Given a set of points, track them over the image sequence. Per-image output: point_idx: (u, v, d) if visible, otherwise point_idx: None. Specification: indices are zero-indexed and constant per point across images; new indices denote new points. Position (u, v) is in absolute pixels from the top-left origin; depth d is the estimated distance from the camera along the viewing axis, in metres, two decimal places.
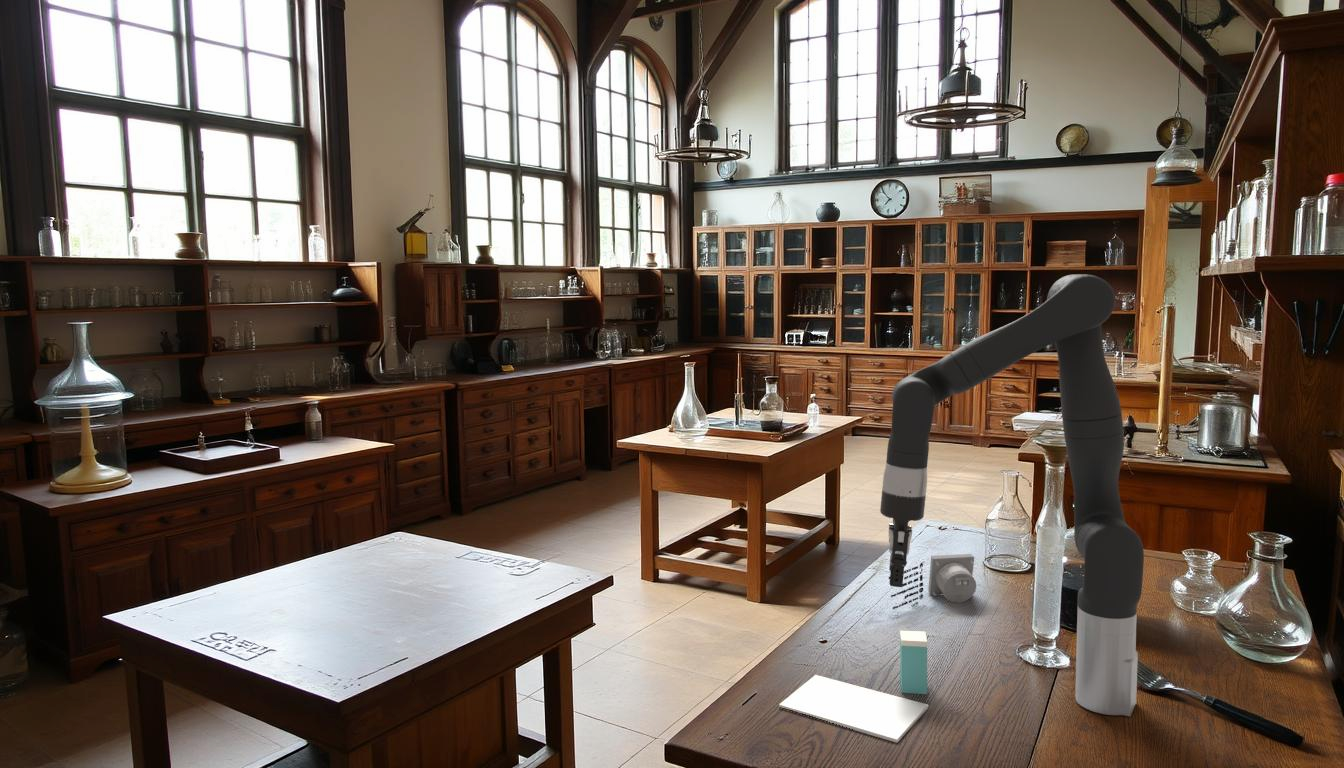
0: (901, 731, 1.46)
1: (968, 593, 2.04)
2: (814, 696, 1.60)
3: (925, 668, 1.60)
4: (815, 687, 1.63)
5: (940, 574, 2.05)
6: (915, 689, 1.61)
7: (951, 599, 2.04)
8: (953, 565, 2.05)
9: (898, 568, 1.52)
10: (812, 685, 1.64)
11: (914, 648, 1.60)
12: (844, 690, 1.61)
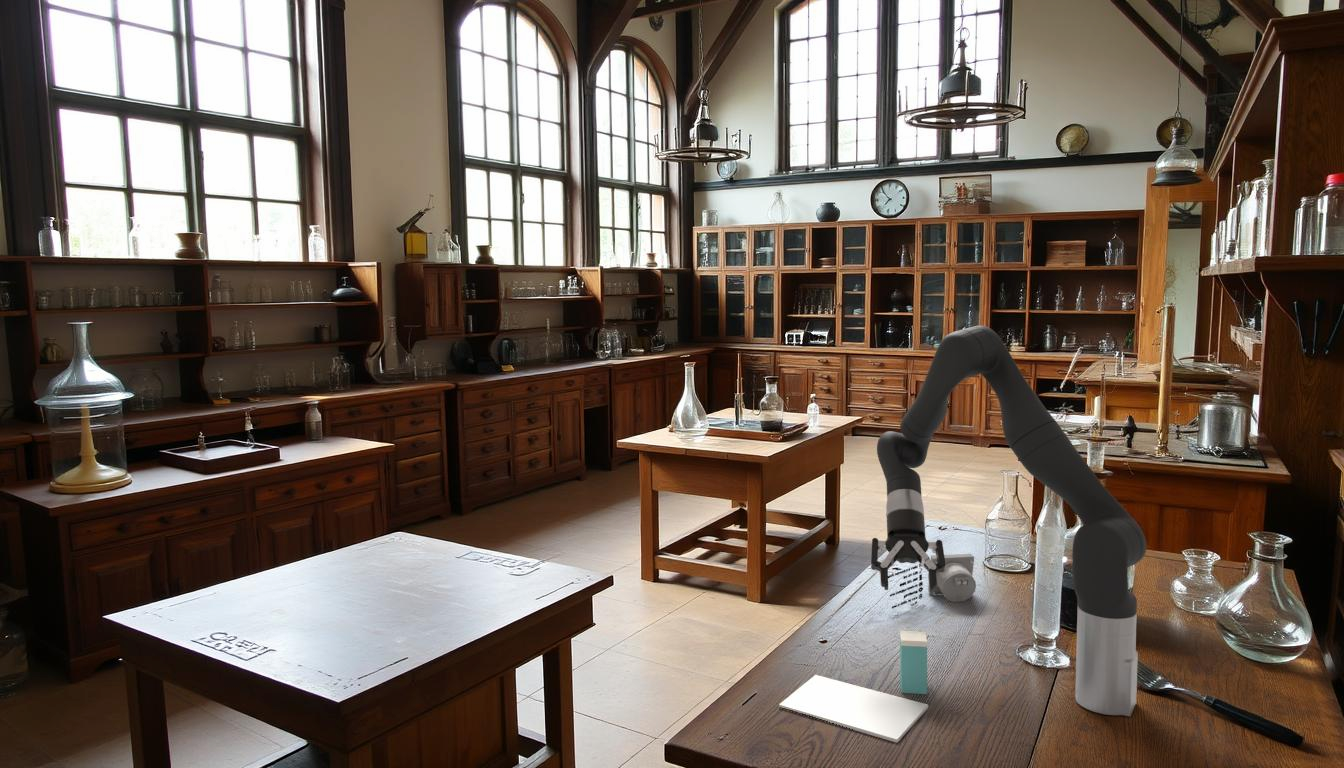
0: (901, 731, 1.46)
1: (968, 593, 2.04)
2: (814, 696, 1.60)
3: (925, 668, 1.60)
4: (815, 687, 1.63)
5: (940, 574, 2.06)
6: (915, 689, 1.61)
7: (951, 599, 2.04)
8: (953, 565, 2.05)
9: (880, 571, 1.76)
10: (812, 685, 1.64)
11: (914, 648, 1.60)
12: (844, 690, 1.61)
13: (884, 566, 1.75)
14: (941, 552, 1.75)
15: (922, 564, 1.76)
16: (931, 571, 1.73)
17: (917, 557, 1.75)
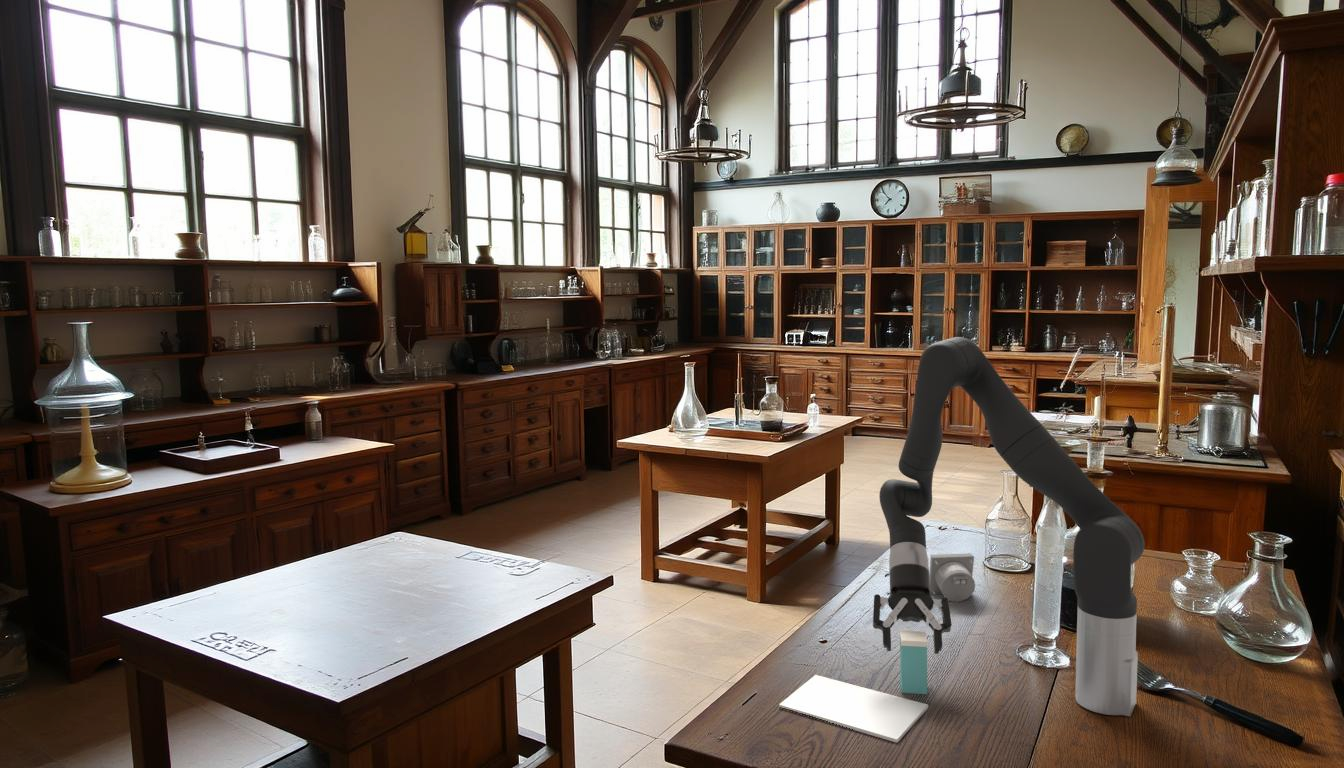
0: (901, 731, 1.46)
1: (967, 592, 2.04)
2: (814, 696, 1.60)
3: (925, 668, 1.60)
4: (815, 687, 1.63)
5: (939, 573, 2.06)
6: (915, 689, 1.61)
7: (950, 598, 2.04)
8: (952, 564, 2.06)
9: (883, 631, 1.67)
10: (812, 685, 1.64)
11: (914, 648, 1.60)
12: (844, 690, 1.61)
13: (887, 625, 1.66)
14: (947, 611, 1.66)
15: (927, 623, 1.67)
16: (936, 632, 1.64)
17: (921, 616, 1.66)
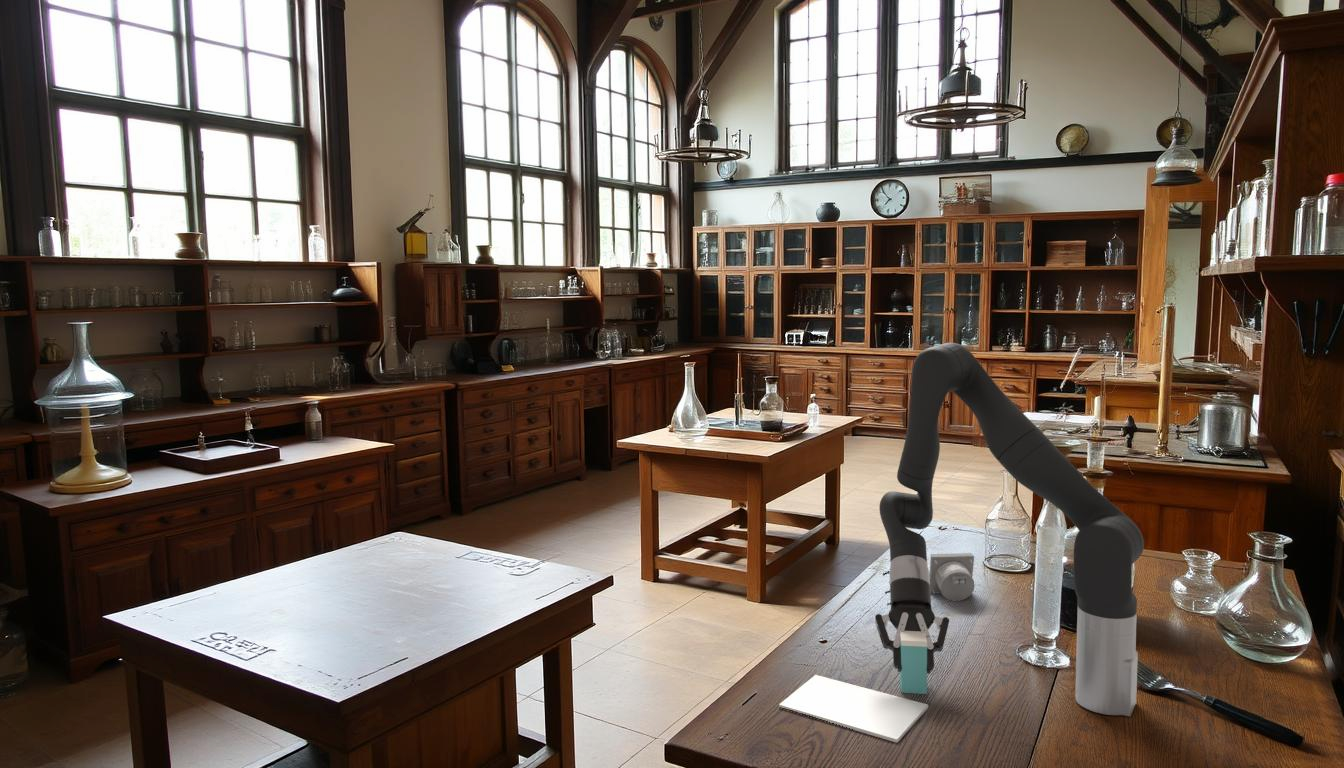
0: (901, 731, 1.46)
1: (966, 592, 2.04)
2: (814, 696, 1.60)
3: (925, 668, 1.60)
4: (815, 687, 1.63)
5: (939, 572, 2.06)
6: (915, 689, 1.61)
7: (949, 597, 2.05)
8: (952, 564, 2.06)
9: (893, 651, 1.63)
10: (812, 685, 1.64)
11: (914, 648, 1.60)
12: (844, 690, 1.61)
13: (897, 646, 1.63)
14: (944, 631, 1.63)
15: None
16: (928, 651, 1.61)
17: None
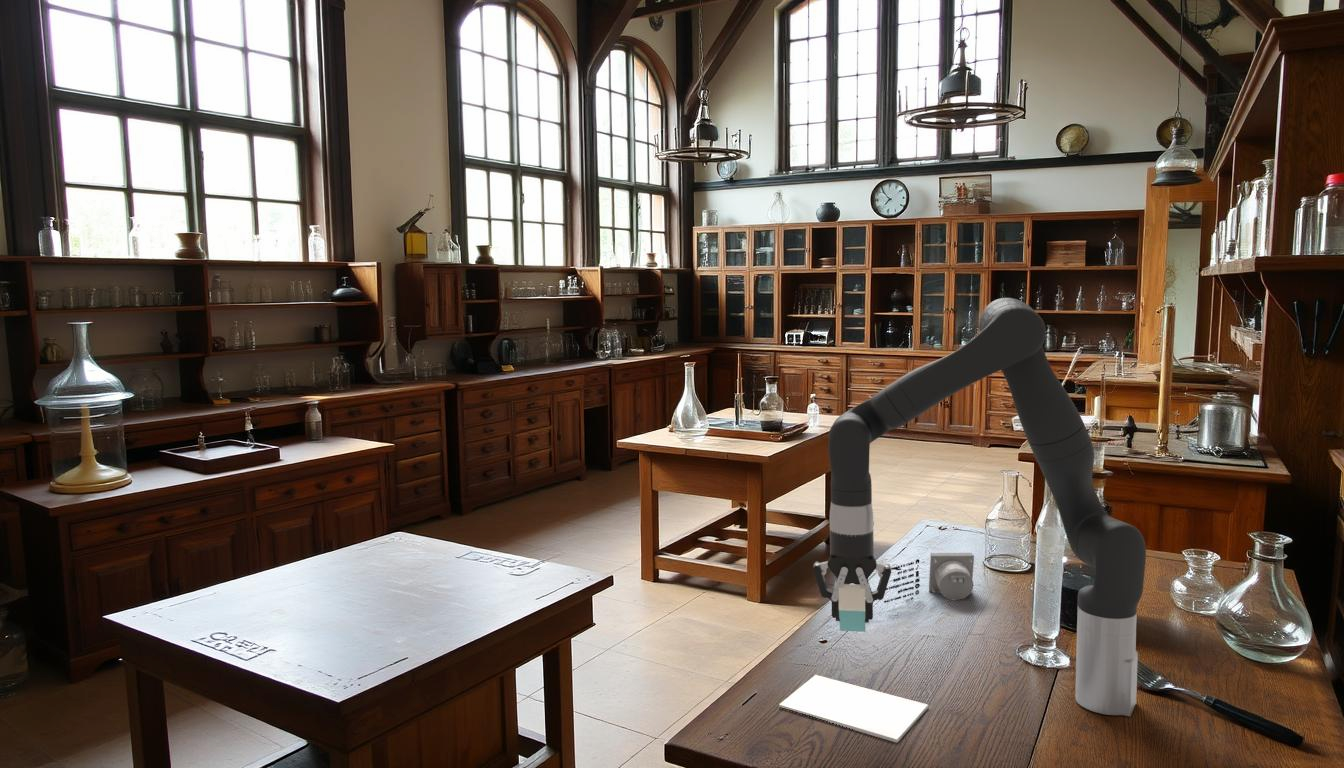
0: (901, 731, 1.46)
1: (965, 591, 2.05)
2: (814, 696, 1.60)
3: (863, 620, 1.56)
4: (815, 687, 1.63)
5: (938, 571, 2.07)
6: (853, 629, 1.59)
7: (948, 596, 2.06)
8: (951, 563, 2.07)
9: None
10: (812, 685, 1.64)
11: (852, 611, 1.53)
12: (844, 690, 1.61)
13: (835, 600, 1.56)
14: (884, 583, 1.54)
15: None
16: (867, 604, 1.55)
17: (857, 582, 1.55)
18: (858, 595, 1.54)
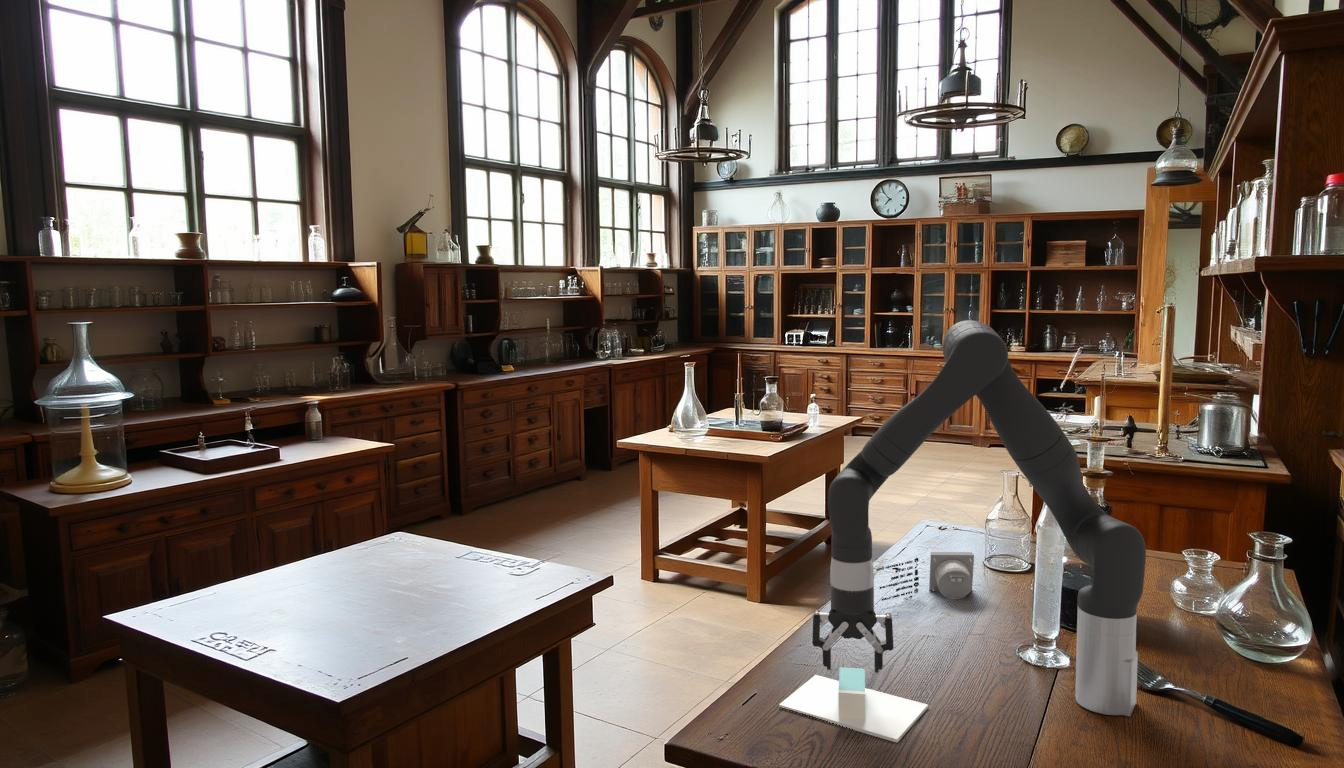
0: (901, 731, 1.46)
1: (964, 590, 2.05)
2: (814, 696, 1.60)
3: None
4: (815, 687, 1.63)
5: (937, 570, 2.08)
6: None
7: (947, 595, 2.06)
8: (951, 562, 2.07)
9: (822, 649, 1.58)
10: (812, 685, 1.64)
11: None
12: None
13: (826, 649, 1.57)
14: (890, 633, 1.54)
15: None
16: (877, 655, 1.56)
17: None
18: (858, 705, 1.51)
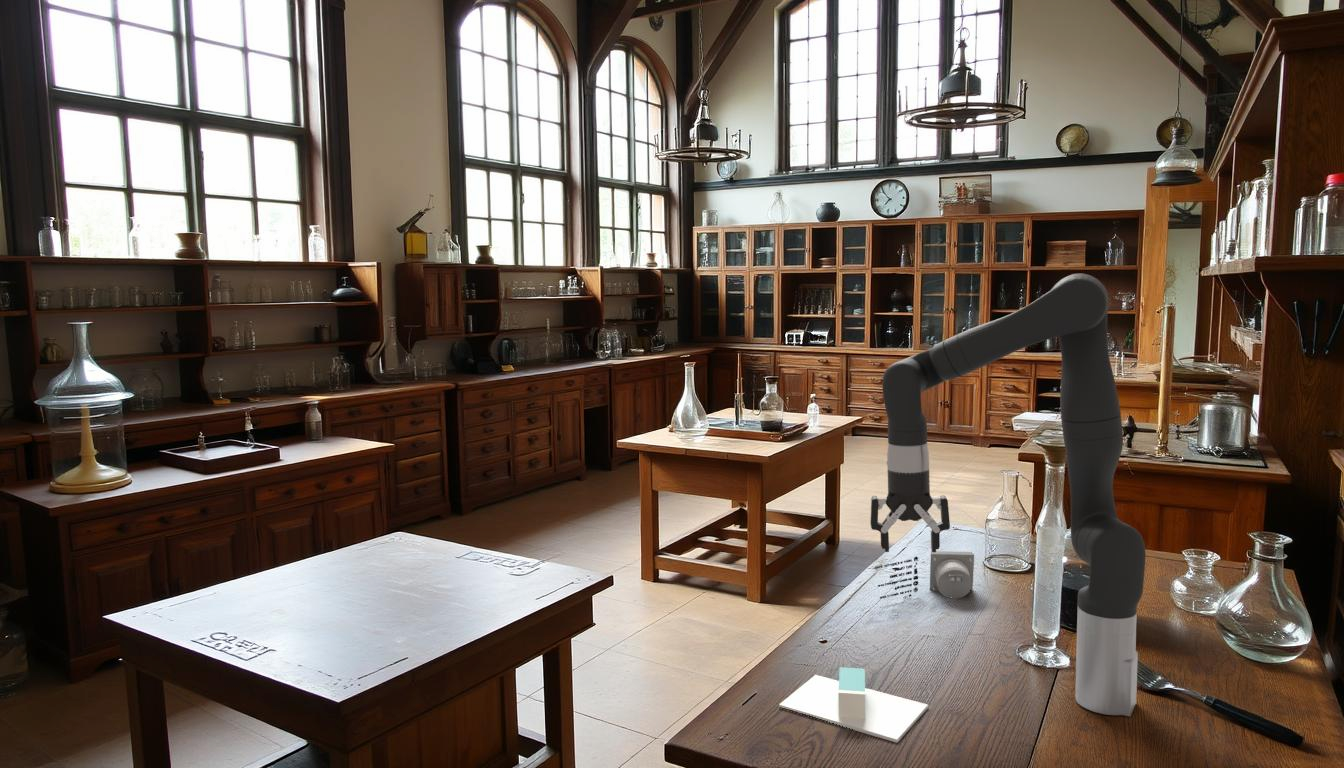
0: (901, 731, 1.46)
1: (964, 590, 2.06)
2: (814, 696, 1.60)
3: None
4: (815, 687, 1.63)
5: (937, 569, 2.09)
6: None
7: (946, 594, 2.07)
8: (950, 561, 2.08)
9: None
10: (812, 685, 1.64)
11: None
12: None
13: (885, 531, 1.65)
14: (946, 513, 1.63)
15: None
16: (934, 534, 1.64)
17: (920, 518, 1.64)
18: (858, 705, 1.51)
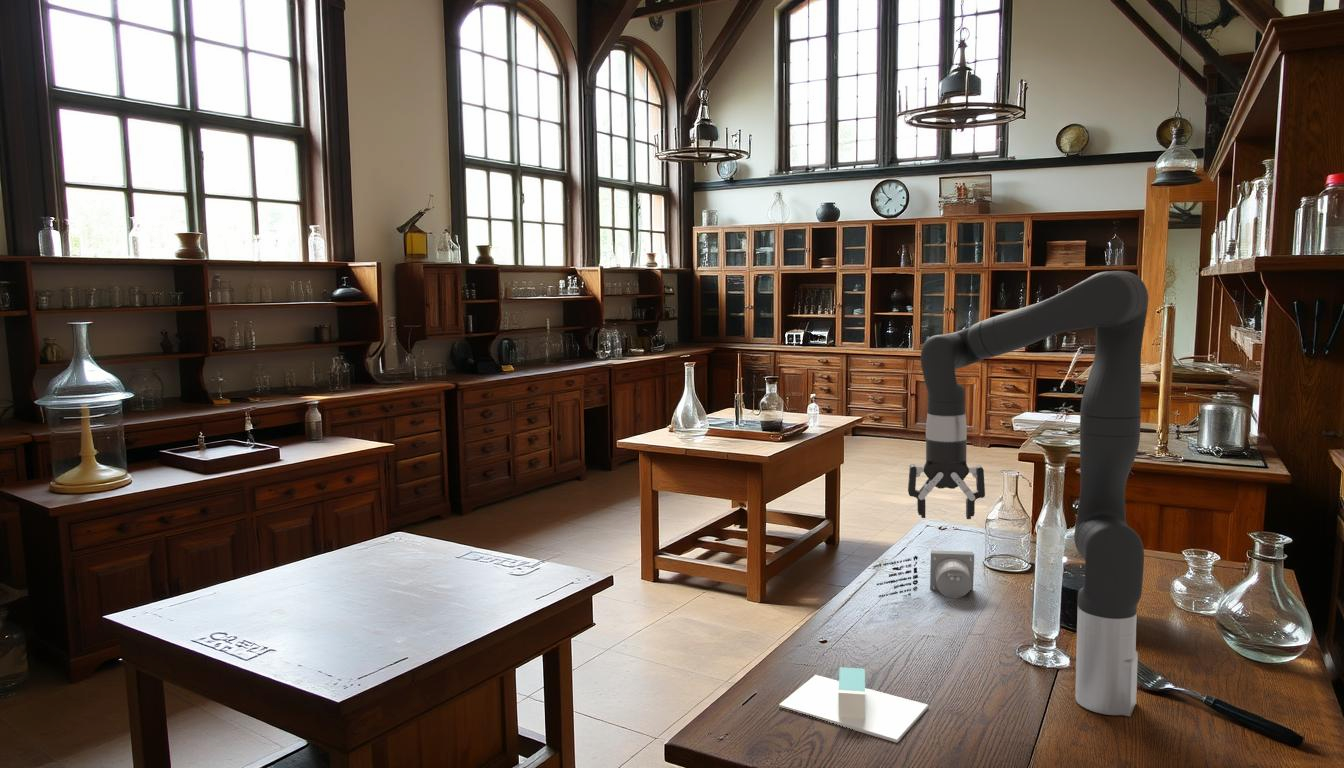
0: (901, 731, 1.46)
1: (963, 590, 2.06)
2: (814, 696, 1.60)
3: None
4: (815, 687, 1.63)
5: (937, 569, 2.09)
6: None
7: (946, 594, 2.07)
8: (950, 561, 2.08)
9: (917, 500, 1.74)
10: (812, 685, 1.64)
11: None
12: None
13: (922, 498, 1.73)
14: (981, 481, 1.70)
15: None
16: (970, 502, 1.71)
17: (956, 486, 1.71)
18: (858, 705, 1.51)
